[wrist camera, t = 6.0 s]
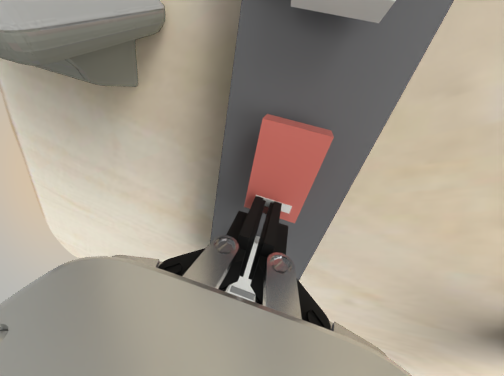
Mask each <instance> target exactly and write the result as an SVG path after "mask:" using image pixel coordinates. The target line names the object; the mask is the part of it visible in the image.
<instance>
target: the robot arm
mask: <svg viewBox="0 0 504 376" xmlns="http://www.w3.org/2000/svg"><path fill="white" fill-rule="evenodd" d="M265 203H266V201H265V200H263V198H262V197H259V196H255V199H254V201H253V203H252V205H251V208H250V210H249V212H248V213H246V212H242V211H238V213H237V215H236V217H235V219H234V221H233V223H232V225H231V227H230V228H229V230H228V232H227V234H226V235H221V236H218V237H216V238H214V239H213V240H212V242H211V243H210V244H209V245H208V246H207V248H204V249H201V250H197V251H194V252H191V253H187V254H184V255H181V256H177V257H174V258H170V259H168V260H166V261H164V262H159V259H152V258H143V257H134V256H126V255H115V256H112V257H108V256H99V257H85V258H79V259H75V260H72V261H69V262H67V263H64V264H62V265H60V266H58V267H57V268H55V269H53V270H51V271H49V272H48V273H46V274H44V275H43V276H42V277H40V278H38V279H36V280H35V281H33V282H32V283H30V284H29V285H27V286H26V287H24V288H23V289H21V290H20V291H18V292H17V293H15V294H14V295H13V296H11V297H10V298H8V299H7V300H5V301H4V302H2V303H1V304H0V376H412V375H410V374H409V373H408V372H407V371H406V370H404V369H403V368H402V367H400V366H399V365H398V364H396V363H395V362H394V361H392V360H391V359H389V358H388V357H387V356H386V355H385V354H384V353H383V352H382V351H381V350H380V349H379V348H377V347H376V346H374V345H372V344H371V343H369V342H368V341H366V340H364V339H363V338H361V337H359V336H358V335H356V334H354V333H353V332H351V331H349V330H348V329H346V328H344V327H343V326H341V325H339V324H338V323H336V322H334V323H332V322H330V321H329V320H328V318H327V316H326V315H325V313H324V312H323V311H322V309H321V308H320V307H319V306H318V305H317V303H316V302H315V301H314V300H313V298H312V297H311V296H310V295H309V293H308V292H307V291H306V290H305V288H304V287H303V286H302V285H301V283H300V282H299V281H298V280H297V278H296V272H295V266H294V263H293V261H292V260H291V259H290V258H289V257H288V256H287V255H286V248H287V237H288V226H287V225H284V224H281V223H279V219H280V213H281V206H282V203H279V202H275V201H274V203H271V202H270V205H269V208H268V212H267V215H266V218H265V222H264V225H263V228H262V232H261V235H260V238H259V242H258V246H257V249H256V253H255V256H254V260H253V263H252V267H251V271H250V274H249V278H248V279H250V280H252V281H251V284H250V286H251V288H252V289H253V291H254V293H255V295H254V301H253V302H252V301H249V300H247V299H244V298H241V297H238V296H236V295H233V294H230V293H227V291H228V289H229V287H230V285H231V284H233V283H235V282H238V280H239V277H240V276H241V277H243V276H244V273H245V270H246V266H247V263H248V260H249V257H250V253H251V250H252V247H253V244H254V240H255V237H256V234H257V231H258V227H259V224H260V220H261V217H262V213H263V210H264V206H265Z"/></svg>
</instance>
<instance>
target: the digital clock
mask: <svg viewBox="0 0 504 376" xmlns="http://www.w3.org/2000/svg"><path fill="white" fill-rule="evenodd" d="M164 8H165V7H164V5H163V4H162V2H161V1H160V0H0V58H2V59H6V60H10V61H13V62H17V63H21V64H25V65H32V66H36V67H39V68H42V69H46V70H49V71H52V72H56V73H59V74H63V75H66V76H69V77H73V78H76V79H79V80H83V81H86V82H90V83H93V84H96V85H102V86H130V87H136V86H137V85H138V75H137V62H136V49H135V39H138V38H142V37H145V36H149V35H152V34H155V33H157V32H159V31H160V29H161V28H162V26H163V23H164V21H165V9H164Z"/></svg>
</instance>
